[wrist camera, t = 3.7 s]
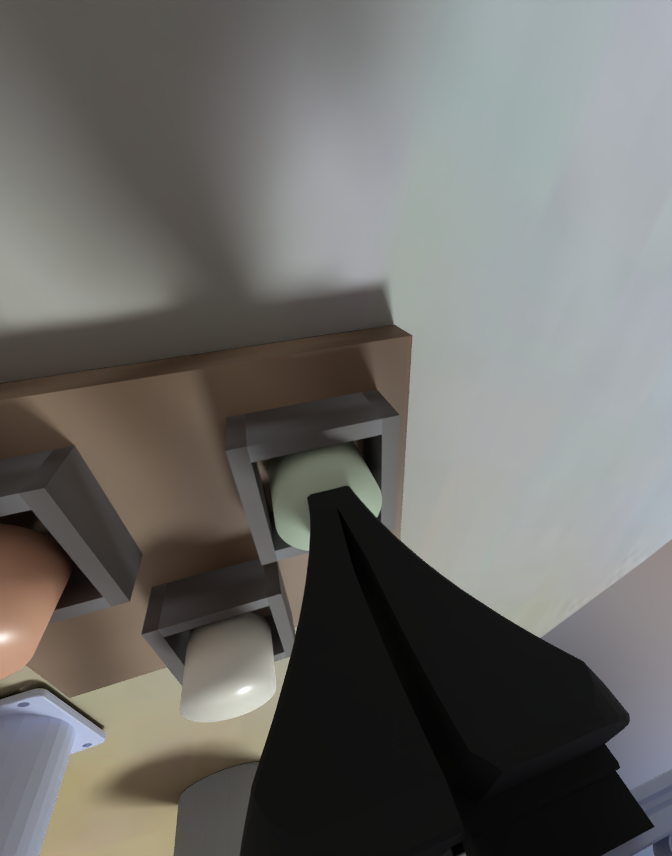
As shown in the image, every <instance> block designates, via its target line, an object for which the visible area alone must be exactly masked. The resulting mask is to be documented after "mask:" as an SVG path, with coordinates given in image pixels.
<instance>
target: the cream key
mask: <svg viewBox="0 0 672 856" xmlns="http://www.w3.org/2000/svg"><path fill="white" fill-rule="evenodd" d="M275 691H276V677H275V666H274V656H273V645H272V635H271V626H270V623H269V621H268V620H267V619H266V618H265V617H263V616H262V615H259V614H256V613H251V612H247V613H243V614H240V615H237V616H233V617H230V618H227V619H223V620H220V621H217V622H213V623H210V624H207V625H203V626H200V627H197V628H195V629H194V630H193V631H192V632H191V634H190V635H189V637H188V640H187V648H186V658H185V667H184V676H183V685H182V694H181V703H180V713H181V715H182V716H183V717H184V718H186V719H188V720H190V721H195V722H217V721H223V720H227V719H231V718H235V717H238V716H241V715H244V714H246V713H248V712H251V711H253V710H255V709H257V708H258V707H260V706H262V705H263V704H264V703H266V702H267V701H268V700H269V699H270V698H271V697H272V696H273V695H274V693H275Z"/></svg>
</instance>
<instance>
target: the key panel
mask: <svg viewBox="0 0 672 856" xmlns="http://www.w3.org/2000/svg"><path fill="white" fill-rule="evenodd" d="M411 348H412V335H410V334H409V333H407V332H406V331H404V330H402V329H401V328H399V327H397V326H396V325H390V326H383V327H377V328H370V329H363V330H357V331H350V332H343V333H336V334H330V335H323V336H316V337H310V338H303V339H296V340H290V341H283V342H276V343H270V344H263V345H256V346H249V347H243V348H236V349H229V350H223V351H216V352H209V353H203V354H196V355H189V356H183V357H176V358H169V359H163V360H156V361H149V362H142V363H136V364H129V365H122V366H116V367H109V368H102V369H96V370H89V371H82V372H76V373H69V374H62V375H55V376H49V377H42V378H35V379H29V380H22V381H15V382H9V383H2V384H0V524H8V525H14V526H19V527H24V528H27V529H31V530H34V531H36V532H39V533H42V534H44V535H46V536H48V537H50V538H51V539H53V540H55V541H56V542H58V543H59V544H60V545H61V546H62V547H63V549H64V550H65V551H66V552H67V554H68V555H69V556H70V558H71V560H72V572H71V575H70V578H69V580H68V582H67V584H66V586H65V588H64V590H63V593H62V595H61V597H60V599H59V601H58V603H57V605H56V608H55V610H54V612H53V614H52V616H51V618H50V621H49V623H48V625H47V627H46V629H45V631H44V633H43V636H42V638H41V640H40V642H39V644H38V646H37V648H36V651H35V653H34V655H33V657H32V658H31V660H30V661H29V662H28V663H27V664H26V665H27V666H28V667H29V668H30V669H32V670H33V671H34V672H36V673H37V674H38V675H40V676H41V677H42V678H44V679H45V680H46V681H48V682H49V683H50V684H52V685H53V686H54V687H56V688H57V689H58V690H60V691H61V692H62V693H64V694H65V695H66V696H68V697H69V698H71V697H74V696H77V695H80V694H83V693H87V692H90V691H93V690H96V689H99V688H102V687H106V686H109V685H112V684H115V683H118V682H121V681H125V680H128V679H131V678H134V677H137V676H140V675H144V674H147V673H150V672H153V671H156V670H159V669H163V668H166V667H167V668H168V669H169V670H170V671H171V673H172V674H173V675H174V676H175V678H176V679H177V680H178V681H179V683H180V684H181V685H183V676H184V667H185V658H186V648H187V640H188V637H189V635H190V634H191V632H192V631H193V630H194V629H195V628H197V627H200V626H203V625H207V624H210V623H213V622H217V621H220V620H223V619H227V618H230V617H233V616H237V615H240V614H243V613H247V612H251V613H256V614H259V615H262V616H263V617H265V618H266V619H267V620H268V621H269V623H270V626H271V635H272V645H273V656H274V662H275V661H278V660H281V659H284V658H287V657H290V656H291V652H292V648H293V644H294V639H295V629H294V627H296V626H298V622H299V617H300V611H301V606H302V601H303V595H304V589H305V582H306V574H307V566H308V557H309V551H306V550H301V549H297V548H295V547H292V546H291V545H289V544H287V543H286V542H285V541H284V540H283V539H282V538H281V537H280V536H279V534H278V532H277V530H276V526H275V519H274V512H273V505H272V498H271V491H270V484H269V477H268V468H269V463H270V460H271V458H275V457H280V456H284V455H289V454H294V453H298V452H303V451H308V450H312V449H317V448H322V447H326V446H331V445H336V444H340V443H345V442H349V441H353V443H354V444H355V445H356V447H357V449H358V451H359V452H360V454H361V456H362V458H363V460H364V461H365V463H366V465H367V467H368V468H369V470H370V472H371V474H372V476H373V477H374V479H375V481H376V483H377V484H378V486H379V488H380V490H381V494H382V506H381V510H380V512H379V515H378V517H377V518H378V519H379V520H380V521H381V522H382V523H383V524H384V525H385V526H386V527H387V528H388V529H389V530H390V531H391V532H392V533H393V534H394V535H395V536H396V537H397V538H398V539H399V540H400V533H401V516H402V499H403V482H404V466H405V449H406V432H407V415H408V399H409V382H410V365H411Z"/></svg>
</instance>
